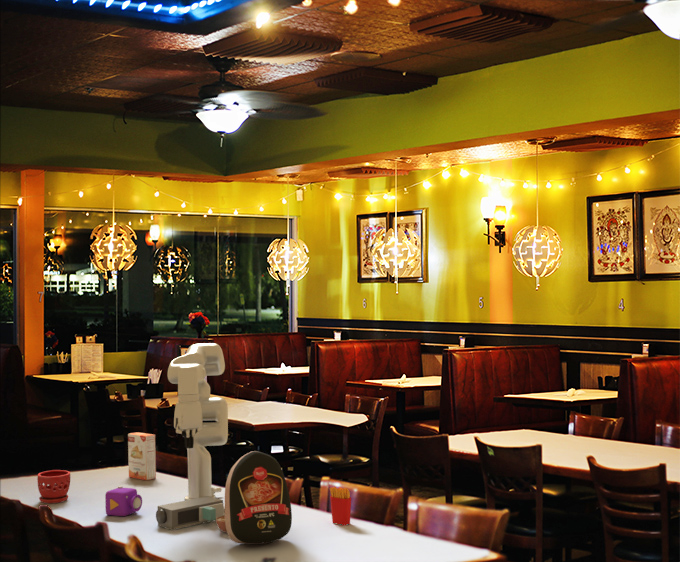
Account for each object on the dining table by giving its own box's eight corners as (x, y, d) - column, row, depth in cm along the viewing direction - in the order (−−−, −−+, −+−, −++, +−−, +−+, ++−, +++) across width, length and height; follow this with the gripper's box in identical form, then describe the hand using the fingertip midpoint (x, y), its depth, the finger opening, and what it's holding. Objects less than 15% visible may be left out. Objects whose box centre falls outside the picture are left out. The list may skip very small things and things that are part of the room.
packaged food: (234, 554, 274) (233, 460, 275) (218, 539, 292) (216, 451, 293) (298, 545, 283) (296, 454, 284) (279, 531, 301) (277, 446, 302)
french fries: (353, 524, 309) (353, 487, 310) (345, 526, 306) (345, 489, 307) (335, 520, 316) (334, 484, 316) (327, 522, 312) (326, 486, 313)
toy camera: (135, 518, 326) (135, 491, 326) (102, 517, 329) (102, 490, 329) (147, 511, 337) (147, 485, 337) (115, 510, 339) (115, 485, 340)
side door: (221, 516, 320) (221, 502, 320) (231, 519, 316) (231, 505, 316) (199, 521, 314) (198, 507, 314) (208, 524, 309) (208, 510, 309)
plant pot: (30, 504, 354) (30, 474, 355) (52, 497, 367) (52, 469, 367) (56, 506, 349) (55, 476, 350) (77, 499, 362) (77, 470, 362)
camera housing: (208, 514, 329) (208, 496, 329) (224, 519, 321) (223, 500, 321) (154, 526, 313) (153, 506, 313) (168, 531, 305) (168, 511, 305)
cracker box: (127, 477, 407) (127, 433, 407) (138, 475, 411) (137, 431, 412) (145, 480, 397) (145, 435, 398) (156, 478, 402) (155, 434, 403)
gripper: (200, 396, 329) (200, 444, 328) (165, 399, 319) (166, 449, 318) (210, 397, 323) (211, 446, 323) (176, 401, 313) (177, 451, 313)
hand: (189, 447), depth 321 cm, fingers closed
